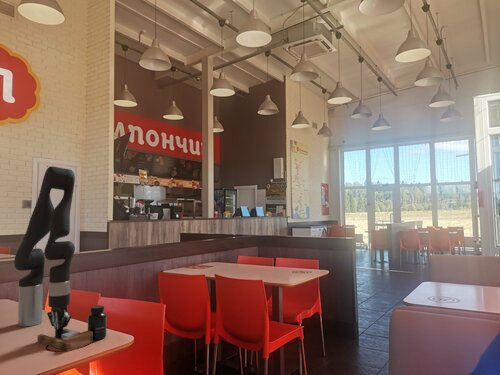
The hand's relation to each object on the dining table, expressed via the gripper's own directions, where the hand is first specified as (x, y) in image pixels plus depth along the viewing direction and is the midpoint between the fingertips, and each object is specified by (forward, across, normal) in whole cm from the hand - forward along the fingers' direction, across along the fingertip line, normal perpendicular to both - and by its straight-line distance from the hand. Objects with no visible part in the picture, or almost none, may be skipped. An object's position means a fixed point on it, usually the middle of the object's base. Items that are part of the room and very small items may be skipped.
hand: (59, 338), depth 142 cm
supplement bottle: (+1, +12, +9) cm, 14 cm away
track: (+1, +4, 0) cm, 4 cm away
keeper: (+1, +9, 0) cm, 9 cm away
